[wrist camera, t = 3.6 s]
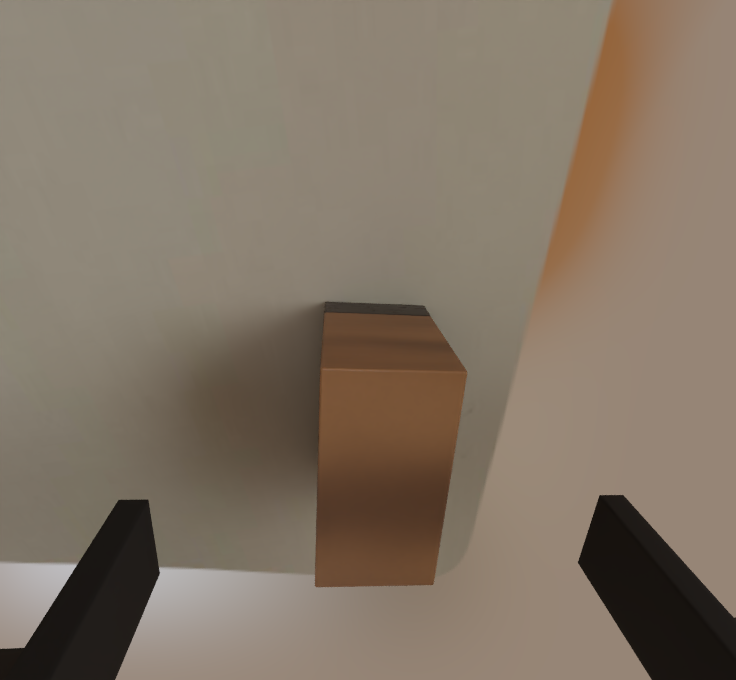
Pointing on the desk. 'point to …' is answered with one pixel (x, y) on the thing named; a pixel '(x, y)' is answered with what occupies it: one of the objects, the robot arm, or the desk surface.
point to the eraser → (384, 444)
